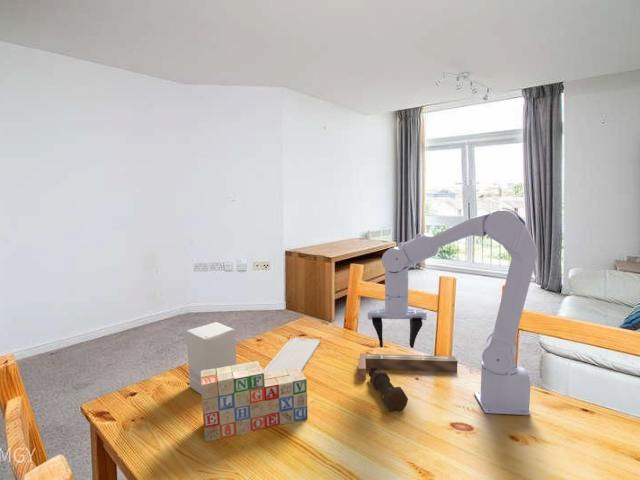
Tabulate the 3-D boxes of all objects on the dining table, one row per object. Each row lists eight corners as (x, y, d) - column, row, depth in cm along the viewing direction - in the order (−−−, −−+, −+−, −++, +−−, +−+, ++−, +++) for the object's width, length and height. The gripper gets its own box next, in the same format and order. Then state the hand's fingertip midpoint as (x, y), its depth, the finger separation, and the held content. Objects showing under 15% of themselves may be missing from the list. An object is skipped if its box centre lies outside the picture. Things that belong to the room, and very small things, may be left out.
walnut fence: (454, 366, 101) (454, 355, 101) (463, 383, 92) (463, 371, 92) (358, 363, 104) (358, 353, 104) (358, 379, 95) (357, 368, 95)
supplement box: (239, 385, 93) (236, 328, 91) (207, 400, 87) (203, 339, 85) (220, 373, 99) (217, 320, 98) (188, 386, 93) (185, 330, 91)
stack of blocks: (300, 404, 85) (299, 353, 83) (308, 419, 79) (306, 365, 77) (203, 424, 78) (200, 369, 76) (204, 443, 72) (200, 384, 70)
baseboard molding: (244, 388, 93) (289, 395, 90) (243, 378, 92) (288, 383, 89) (286, 341, 122) (320, 344, 119) (286, 332, 122) (320, 335, 119)
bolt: (376, 385, 96) (399, 417, 81) (360, 378, 95) (380, 409, 80) (387, 365, 96) (411, 394, 81) (371, 358, 95) (393, 385, 80)
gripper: (423, 290, 95) (422, 340, 97) (367, 290, 97) (367, 339, 98) (428, 297, 88) (427, 351, 90) (368, 297, 90) (368, 350, 91)
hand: (396, 346), depth 94 cm, fingers open, 7 cm apart
